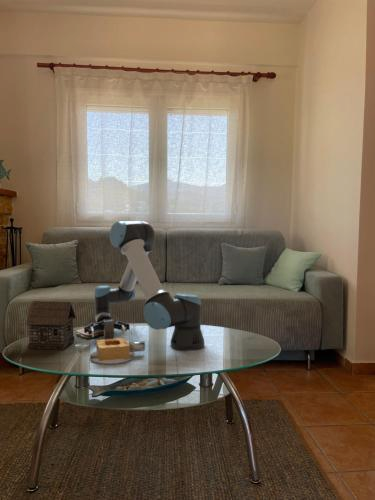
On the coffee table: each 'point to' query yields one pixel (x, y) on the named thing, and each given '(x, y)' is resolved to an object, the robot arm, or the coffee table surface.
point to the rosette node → (115, 351)
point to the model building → (50, 325)
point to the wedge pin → (109, 329)
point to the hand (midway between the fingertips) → (108, 332)
